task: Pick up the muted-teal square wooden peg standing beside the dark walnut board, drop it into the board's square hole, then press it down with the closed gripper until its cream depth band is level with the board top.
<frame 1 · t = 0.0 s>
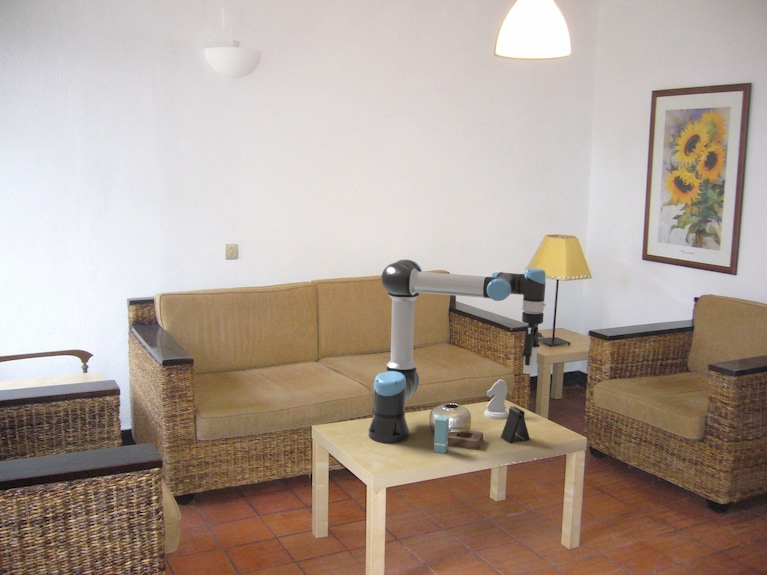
hand: (529, 368, 286), 28 cm above the table, fingers open, 13 cm apart
picture frame: (515, 439, 294), on the table
board: (464, 442, 289), on the table
peg: (440, 450, 280), on the table
chess piece: (496, 415, 321), on the table
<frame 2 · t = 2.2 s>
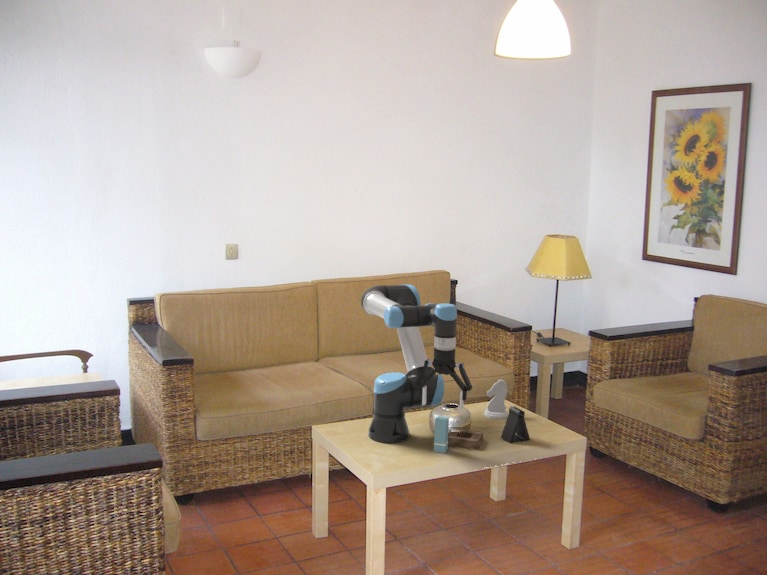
hand: (442, 406, 277), 16 cm above the table, fingers open, 13 cm apart
nothing on the table moved.
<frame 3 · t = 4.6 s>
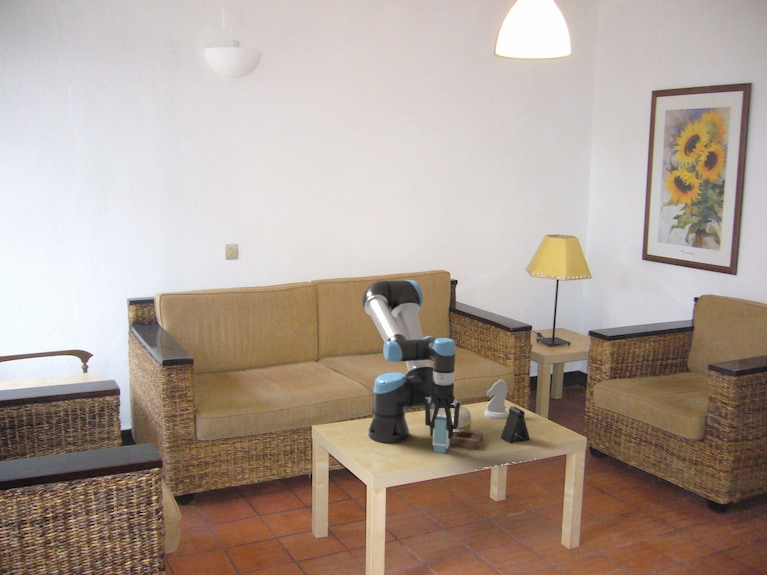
hand: (440, 445, 280), 2 cm above the table, fingers closed on peg, 4 cm apart
peg: (440, 450, 280), on the table, touching gripper
everything else where it was.
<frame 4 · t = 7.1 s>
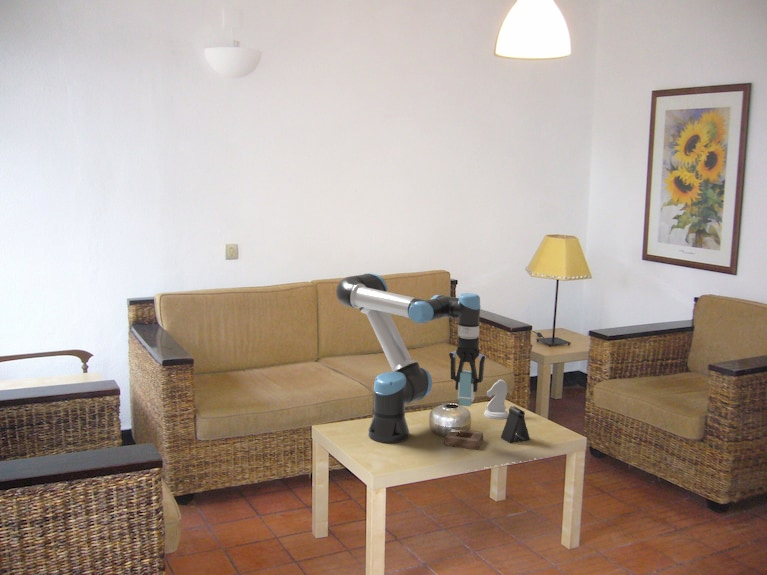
hand: (465, 399, 286), 17 cm above the table, fingers closed on peg, 4 cm apart
peg: (465, 404, 286), point 15 cm above the table, touching gripper
everything else where it was.
when the fingers open (4 cm above the table, at t = 10.1 s): peg drops 2 cm, resting in board.
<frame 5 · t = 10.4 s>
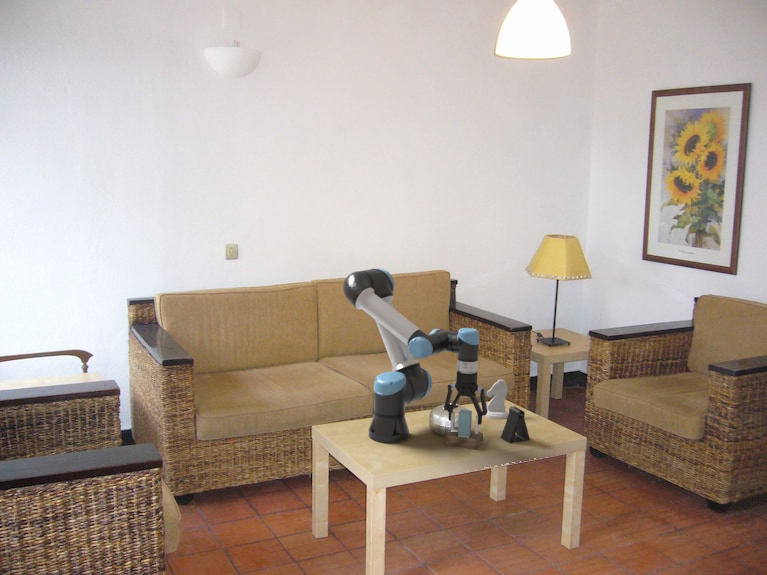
hand: (464, 430, 288), 5 cm above the table, fingers open, 8 cm apart
peg: (464, 442, 289), resting in board
everything else where it was.
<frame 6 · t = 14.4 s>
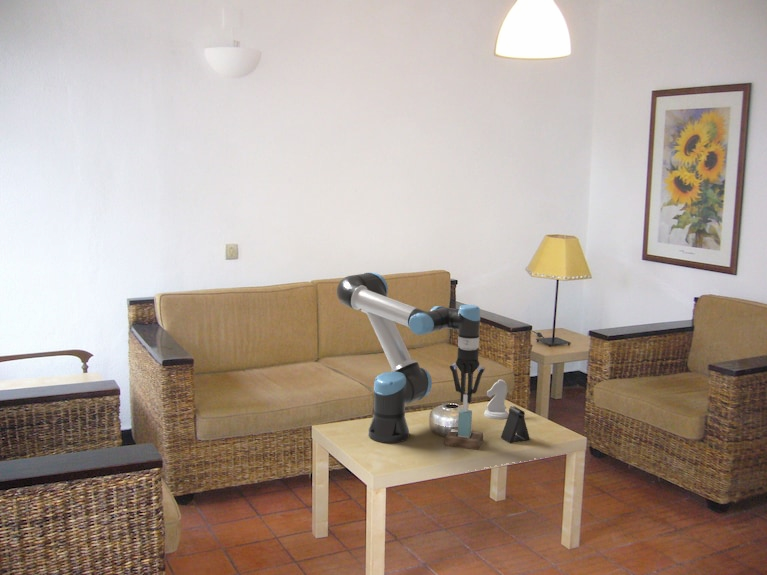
hand: (465, 410, 287), 12 cm above the table, fingers closed
peg: (464, 442, 289), resting in board, touching gripper
everything else where it was.
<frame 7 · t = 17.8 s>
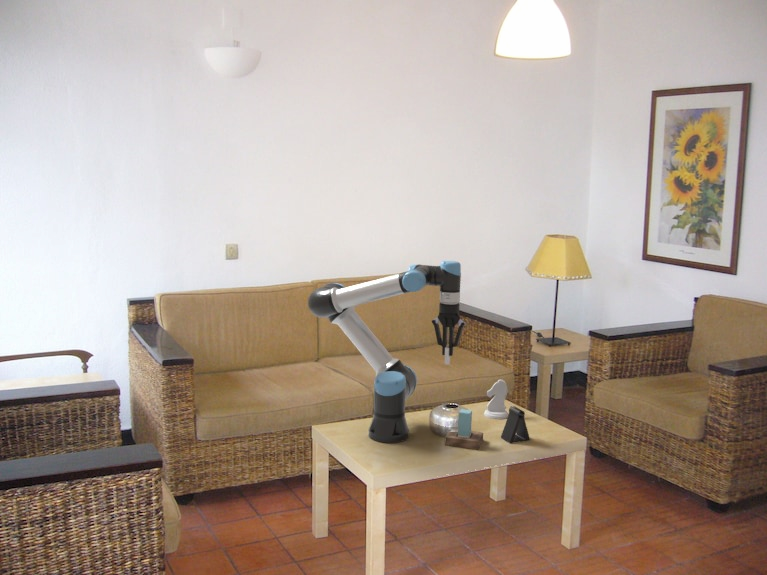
hand: (447, 363, 297), 26 cm above the table, fingers closed
peg: (464, 442, 289), resting in board
everything else where it was.
at the end: peg 0.1 cm off-centre on the board, point 0.0 cm above the board's base; peg tilted 0°; the gripper is holding nothing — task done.
